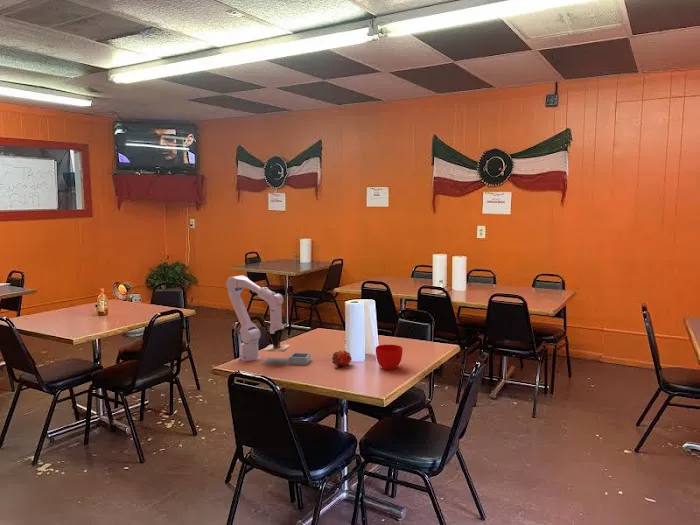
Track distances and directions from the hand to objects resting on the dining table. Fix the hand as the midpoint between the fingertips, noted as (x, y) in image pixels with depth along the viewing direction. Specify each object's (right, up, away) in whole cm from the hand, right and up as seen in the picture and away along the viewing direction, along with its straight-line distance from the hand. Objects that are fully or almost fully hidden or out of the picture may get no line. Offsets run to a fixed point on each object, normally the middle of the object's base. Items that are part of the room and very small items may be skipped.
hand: (276, 344), depth 275 cm
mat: (0, -9, +1) cm, 9 cm away
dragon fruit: (+33, -10, -7) cm, 35 cm away
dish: (+12, -9, -1) cm, 15 cm away
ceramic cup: (+57, -10, -10) cm, 59 cm away
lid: (0, -2, 0) cm, 2 cm away
